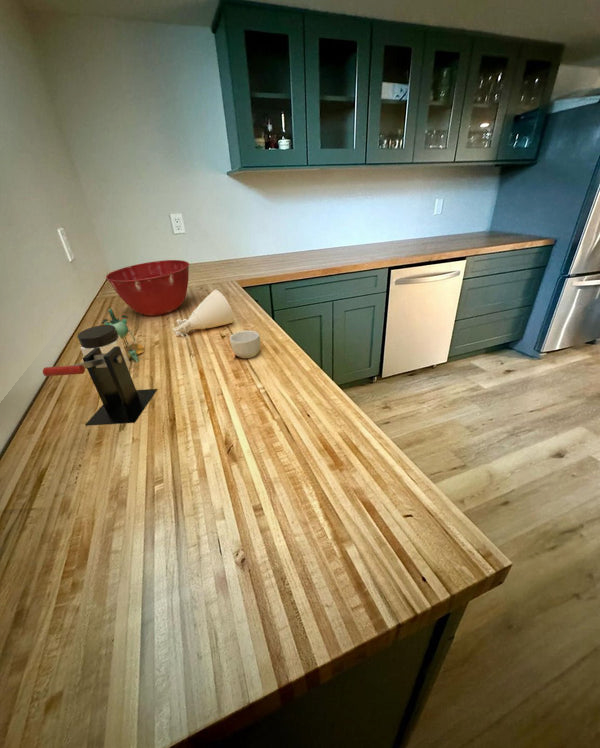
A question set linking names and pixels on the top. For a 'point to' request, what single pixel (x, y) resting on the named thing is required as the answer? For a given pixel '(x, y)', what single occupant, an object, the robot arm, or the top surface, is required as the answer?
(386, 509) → the top surface
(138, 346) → the frog figurine
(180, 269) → the mixing bowl
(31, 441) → the top surface
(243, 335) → the teacup
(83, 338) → the jar
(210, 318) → the rocket engine
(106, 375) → the bracket
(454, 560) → the top surface
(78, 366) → the lever
